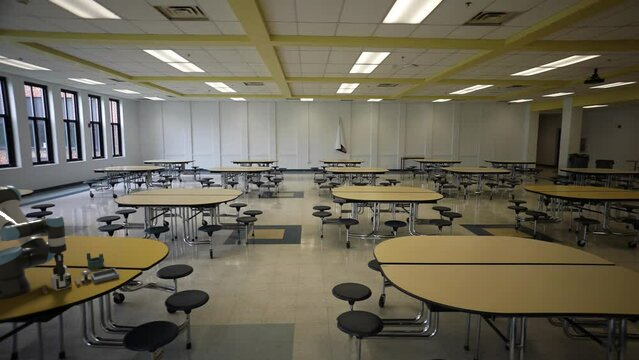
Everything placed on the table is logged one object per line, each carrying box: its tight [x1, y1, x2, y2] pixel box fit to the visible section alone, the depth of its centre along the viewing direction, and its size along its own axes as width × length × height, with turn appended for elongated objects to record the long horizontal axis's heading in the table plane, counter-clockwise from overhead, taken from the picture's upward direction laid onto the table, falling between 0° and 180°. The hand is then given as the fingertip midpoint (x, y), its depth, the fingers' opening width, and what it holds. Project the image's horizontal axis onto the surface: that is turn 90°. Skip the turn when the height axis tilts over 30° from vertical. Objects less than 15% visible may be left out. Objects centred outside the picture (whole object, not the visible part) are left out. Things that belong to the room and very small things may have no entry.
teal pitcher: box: [85, 252, 105, 270], centre depth 217 cm, size 9×9×9 cm
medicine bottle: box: [50, 264, 73, 292], centre depth 187 cm, size 7×7×12 cm
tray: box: [90, 267, 120, 285], centre depth 200 cm, size 12×12×2 cm
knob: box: [80, 269, 92, 283], centre depth 196 cm, size 5×5×6 cm
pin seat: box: [42, 277, 82, 296], centre depth 187 cm, size 16×10×2 cm, turn 131°
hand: (61, 282), depth 187 cm, fingers open, 11 cm apart
